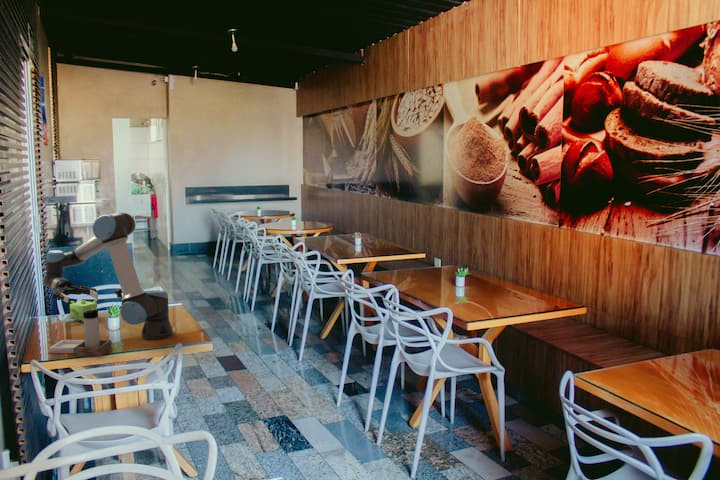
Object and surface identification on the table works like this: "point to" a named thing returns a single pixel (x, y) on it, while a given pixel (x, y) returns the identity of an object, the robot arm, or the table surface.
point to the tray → (65, 346)
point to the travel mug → (91, 328)
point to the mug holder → (92, 349)
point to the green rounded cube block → (81, 309)
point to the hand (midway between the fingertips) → (82, 298)
